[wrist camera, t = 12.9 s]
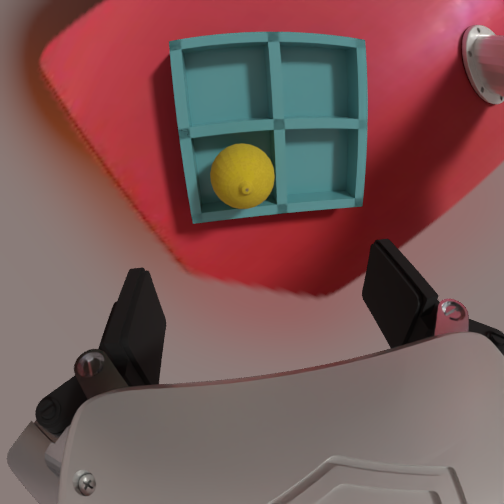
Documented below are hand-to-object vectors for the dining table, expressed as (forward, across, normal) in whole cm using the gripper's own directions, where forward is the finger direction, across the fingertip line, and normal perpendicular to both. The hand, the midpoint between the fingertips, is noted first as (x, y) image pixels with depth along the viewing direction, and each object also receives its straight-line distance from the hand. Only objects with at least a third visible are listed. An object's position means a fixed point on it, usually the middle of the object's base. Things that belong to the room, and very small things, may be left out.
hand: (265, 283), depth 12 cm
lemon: (+19, 0, 0) cm, 19 cm away
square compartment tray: (+20, -4, -4) cm, 21 cm away
